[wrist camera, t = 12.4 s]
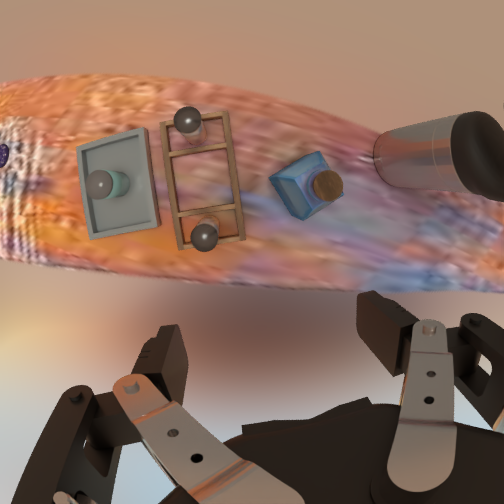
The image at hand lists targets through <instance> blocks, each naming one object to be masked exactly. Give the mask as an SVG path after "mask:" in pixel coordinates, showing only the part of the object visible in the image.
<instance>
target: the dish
mask: <svg viewBox="0 0 504 504" xmlns="http://www.w3.org/2000/svg"><path fill="white" fill-rule="evenodd" d="M76 150H77V161H78V171H79V179H80V187H81V194H82V200H83V207H84V213H85V218H86V224H87V229H88V234H89V238H90V240H93V239H98V238H103V237H107V236H112V235H118V234H123V233H128V232H133V231H138V230H144V229H149V228H155V227H158V226H160V225H161V221H160V215H159V210H158V203H157V197H156V191H155V184H154V177H153V170H152V162H151V154H150V146H149V137H148V130H147V129H146V128H144V127H142V128H138V129H134V130H130V131H126V132H123V133H119V134H116V135H112V136H109V137H105V138H102V139H99V140H96V141H92V142H89V143H86V144H83V145H80V146H78V147H76ZM95 170H110V171H118V172H123V173H125V174H126V175H127V176H128V178H129V180H130V187H129V190H128V192H127V193H126V194H125V195H124V196H122V197H117V198H110V199H103V200H95V199H92V198H91V197H90V196H89V195H88V194H87V192H86V188H85V183H86V179H87V177H88V176H89V174H90V173H92V172H93V171H95Z"/></svg>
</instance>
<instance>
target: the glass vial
mask: <svg viewBox="0 0 504 504" xmlns="http://www.w3.org/2000/svg"><path fill="white" fill-rule="evenodd" d="M174 125H175V127H176V129H177V130H178V131H179V132H180V133H181V134H182V135H183V136H184V137H185V138H186V140H187V141H188V142H189V143H190V144H192V145H200V144H202V143H203V142H204V141H205V140H206V137H207V133H206V130H205V127H204V124H203V122H202V118H201V114H200V112H199V111H198V110H197V109H196V108H194V107H183V108H181V109H180V110H178V111H177V112H176V114H175V116H174Z"/></svg>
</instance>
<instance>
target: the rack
mask: <svg viewBox="0 0 504 504" xmlns="http://www.w3.org/2000/svg"><path fill="white" fill-rule="evenodd" d="M201 118H202V121H207V120H213V119H220V118H222V119H223V126H224V133H225V141H226V143H220V144H213V145H207V146H201V147H195V148H189V149H184V150H178V151H173V152H171V150H170V142H169V133H168V127H173V126H175V125H174V120H169V121H165V122H160V132H161V141H162V149H163V157H164V165H165V172H166V179H167V186H168V193H169V199H170V205H171V211H172V217H173V223H174V229H175V234H176V240H177V245H178V250H185V249H191V248H195V247H194V246H193V245H192V243H191V242H188V243H185V241H184V235H183V229H182V224H181V218H180V217H184V216H190V215H196V214H202V213H208V212H214V211H220V210H227V209H234V208H235V212H236V219H237V226H238V232H239V235H233V236H226V237H220V238H218V243H217V244H223V243H229V242H236V241H242V240H246V237H245V230H244V223H243V216H242V209H241V202H240V195H239V188H238V180H237V173H236V166H235V159H234V152H233V145H232V137H231V130H230V123H229V116H228V111H221V112H214V113H208V114H202V115H201ZM226 148H227V155H228V162H229V170H230V177H231V184H232V191H233V198H234V203H231V204H225V205H218V206H212V207H206V208H200V209H194V210H188V211H182V212H179V206H178V199H177V193H176V186H175V180H174V173H173V165H172V158H173V157H178V156H183V155H189V154H194V153H200V152H206V151H213V150H219V149H226Z"/></svg>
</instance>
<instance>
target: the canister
mask: <svg viewBox="0 0 504 504" xmlns="http://www.w3.org/2000/svg"><path fill="white" fill-rule="evenodd" d="M219 227H220V224H219V221H218V219H217V218H216V217H215V216H212V215H207V216H204V217H203V218H202V219H201V220H200V222H199V223H198V225H197V226H196V227H195V228H194V229H193V231H192V233H191V243H192V245H193V246H194V247H195V248H196V249H197V250H199V251H202V252H207V251H210V250H212V249H213V248H214V247H215V246H216V245H217V243H218V234H219Z"/></svg>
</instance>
